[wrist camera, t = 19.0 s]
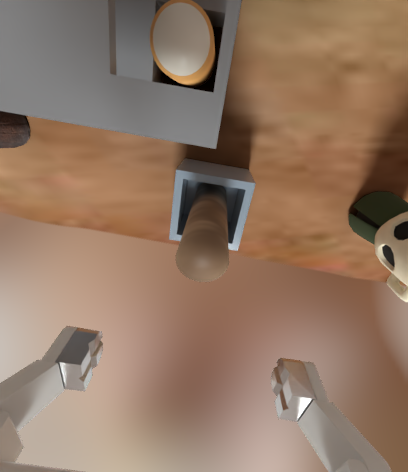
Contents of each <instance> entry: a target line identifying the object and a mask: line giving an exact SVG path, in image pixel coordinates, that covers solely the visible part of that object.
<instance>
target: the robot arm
mask: <svg viewBox="0 0 408 472" xmlns="http://www.w3.org/2000/svg"><path fill="white" fill-rule="evenodd" d="M101 338H102V332H101V331H94V330H89V329H83V328H78V327H71V326H66V327H65V328H64V329H63V330H62V331H61V333H60V334H59V336H58V337H57V338H56V340H55V341H54V343H53V344H52V345H51V347H50V349H49V350H48V351H47V353H46V354H45V355H44V357H43V358H42V360H36V361H35V362H33V363H32V364H30V365H28V366H27V367H25V368H24V369H22V370H20V371H19V372H17V373H16V374H14V375H13V376H11V377H9V378H8V379H6V380H5V381H3V382H1V383H0V472H83V471H75V470H67V469H60V468H52V467H44V466H37V465H29V464H22V463H15V461H16V460H17V458H18V456H19V454H20V453H21V451H22V449H23V442H22V440H21V438H20V436H19V434H18V431H19V430H20V429H21V428H22V427H24V426H25V425H26V424H27V423H28V422H29V421H30V420H31V419H33V418H34V417H35V416H36V415H37V414H38V413H39V412H40V411H42V410H43V409H44V408H45V407H46V406H47V405H48V404H50V403H51V402H52V401H53V400H54V399H55V398H56V397H57V396H59V395H60V394H61V393H62V392H63V391H64V389H69V390H78V391H85V390H86V388H87V386H88V384H89V382H90V380H91V377H92V369H93V368H94V367H96V366H97V365H98V363H99V360H100V358H101V354H102V351H103V343H102V342H101V341H100V340H101ZM277 365H278V366H277V367H275V368H274V370H273V372H272V376H271V385H272V390H273V392H274V393H275V394H276V396H277V398H276V400H275V405H276V410H277V415H278V419H284V420H289V421H295V422H298V423H297V424H298V425H299V427H300V428H301V430H302V431H303V433H304V434H305V436H306V438H307V439H308V441H309V442H310V444H311V445H312V447H313V448H314V450H315V452H316V453H317V455H318V456H319V458H320V459H321V461H322V462H323V464H324V465H325V467H326V469H327V470H328V472H392V471H391V469H390V467H389V465H388V463H387V462H386V461H385V460H384V458H383V457H382V456H381V455H380V454H379V453H378V452H377V451H376V450H375V449H374V447H373V446H372V445H371V444H370V443H369V442H368V441H367V440H366V439H365V437H364V436H363V435H362V434H361V433H360V432H359V431H358V430H357V429H356V428H355V427H354V425H353V424H352V423H351V422H350V421H349V420H348V419H347V418H346V417H345V415H344V414H343V413H342V412H341V411H340V410H339V409H338V408H337V407H336V406H335V404H334V403H332V402H329V400H328V397H327V394H326V392H325V389H324V387H323V384H322V382H321V379H320V376H319V374H318V371H317V369H316V366H315V365H314V363H311V362H304V361H300V360H292V359H285V358H280V359H278V361H277Z"/></svg>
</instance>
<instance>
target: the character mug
mask: <svg viewBox="0 0 408 472" xmlns="http://www.w3.org/2000/svg"><path fill="white" fill-rule="evenodd" d="M354 208H356V209H357V210H358V211H359V212H358V213H357V217H356V216H354V215H352V214H351V213H350V214H349V225H350V226H351V228H352V230H353V231H354V232H355V233H357V234H358V235H359V236H361V237H362V238H364V239H366V240H367V241H369V242H371V243H373V244H374V245H375V252H376V255H377V257H378V258H379V260H380V262H381V263H382V264H383V265H384V266H385V267H386V268H387V269H389V270H390V271H391V272H392V273H391V275H390V276H389V278H388V279H387V284H388V286H389V287H390V288H391V289H392V290H393V291H394V292H395V293H396V295H397V296H399V298H401V299H402V300H404V301H405V302H408V203H407V202H406V201H404V200H403V199H401V198H400V197H399V196H397V195H394V194H392V193H390V192H374V193H371V194H369V195H366V196H364V197H363V198H361V199H360V200H359V201H358V202H357V203H356V204H355V205H354ZM400 280H401V281H402V282H403V283H404V284H406V285H407V287H406V289H404V288H403V287H402V286H401V285H400V284H399V282H400Z"/></svg>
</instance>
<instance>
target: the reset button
mask: <svg viewBox="0 0 408 472" xmlns="http://www.w3.org/2000/svg"><path fill="white" fill-rule="evenodd" d="M150 47H151V51H152V55H153V57H154V60H155V62H156V63H157V65H158V67H159V68H160V69H161V70H162V71H163V72H164V73H165V74H166V75H167V76H169V77H170V78H172V79H173V80H175V81H176V82H178V83H179V84H181V85H183V86H185V87H189V88H195V87H199V86H201V85H203V84H204V83H206V82H207V81H208V79H209V78H210V77H211V75H212V73H213V71H214V68H215V62H216V54H215V43H214V34H213V28H212V25H211V22H210V20H209V17H208V16H207V14H206V12H205V11H204V10H203V9H202V7H200V6H199V5H198V4H197V3H195V2H194V1H192V0H170V1H168V2H167V3H165V4H164V5H163V6H162V7H161V8H160V9H159V10H158V11H157V13H156V15H155V17H154V19H153V21H152V25H151V29H150Z"/></svg>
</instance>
